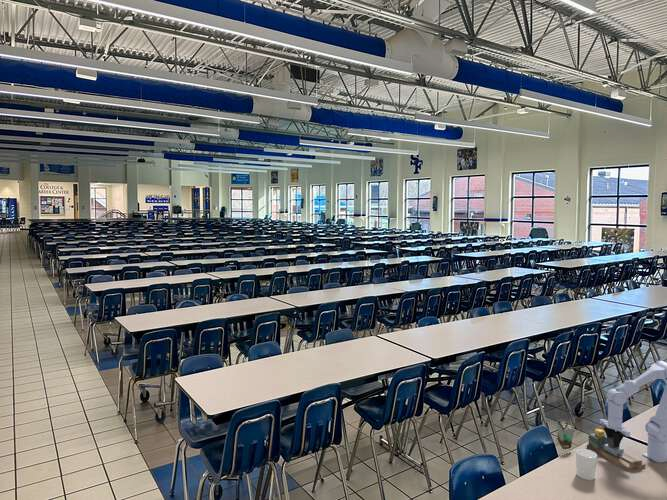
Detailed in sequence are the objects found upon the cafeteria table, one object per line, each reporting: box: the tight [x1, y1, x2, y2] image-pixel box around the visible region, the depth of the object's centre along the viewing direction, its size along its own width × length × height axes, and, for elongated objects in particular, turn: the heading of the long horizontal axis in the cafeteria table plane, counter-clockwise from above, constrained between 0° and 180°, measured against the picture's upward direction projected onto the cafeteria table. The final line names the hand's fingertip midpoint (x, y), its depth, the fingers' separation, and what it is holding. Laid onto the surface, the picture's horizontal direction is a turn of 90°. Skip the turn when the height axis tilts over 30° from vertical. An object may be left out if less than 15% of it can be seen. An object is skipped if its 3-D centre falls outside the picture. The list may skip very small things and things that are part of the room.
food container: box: [556, 419, 576, 450], centre depth 229 cm, size 12×6×10 cm, turn 168°
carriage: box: [604, 437, 625, 456], centre depth 219 cm, size 5×6×7 cm
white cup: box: [575, 448, 598, 481], centre depth 201 cm, size 8×8×10 cm
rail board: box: [586, 432, 646, 472], centre depth 218 cm, size 10×22×6 cm, turn 18°
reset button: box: [594, 428, 606, 437], centre depth 226 cm, size 4×4×5 cm
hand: (613, 444), depth 219 cm, fingers closed on carriage, 2 cm apart
